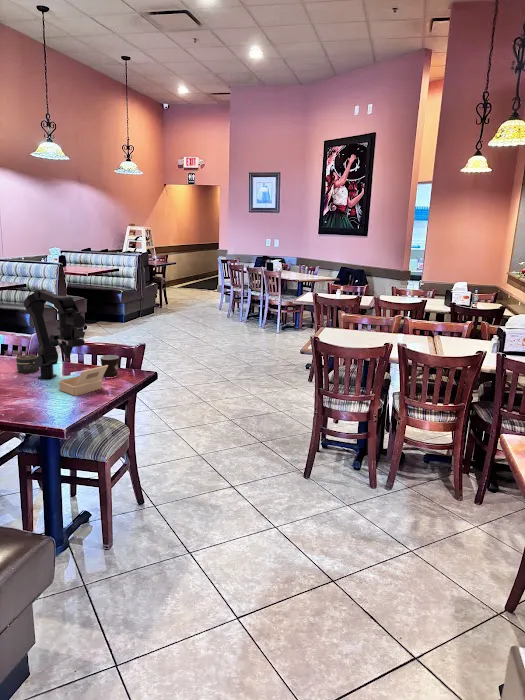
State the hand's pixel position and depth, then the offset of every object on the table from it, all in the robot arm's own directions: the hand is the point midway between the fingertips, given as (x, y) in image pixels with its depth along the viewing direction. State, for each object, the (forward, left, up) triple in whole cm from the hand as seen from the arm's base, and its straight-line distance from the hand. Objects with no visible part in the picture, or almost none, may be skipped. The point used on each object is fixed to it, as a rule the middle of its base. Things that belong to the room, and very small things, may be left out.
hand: (67, 358), depth 228 cm
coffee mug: (-16, +15, -13) cm, 26 cm away
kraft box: (+5, +7, -13) cm, 16 cm away
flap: (+9, +12, -8) cm, 17 cm away
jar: (-18, -28, -13) cm, 36 cm away
